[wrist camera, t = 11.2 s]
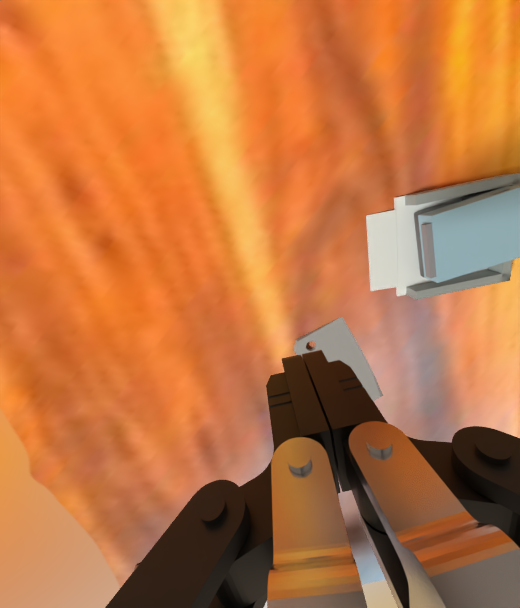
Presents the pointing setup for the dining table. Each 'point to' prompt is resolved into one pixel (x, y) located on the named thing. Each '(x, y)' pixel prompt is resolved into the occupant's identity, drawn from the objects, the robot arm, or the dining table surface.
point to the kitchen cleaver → (341, 352)
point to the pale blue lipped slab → (468, 233)
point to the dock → (403, 245)
